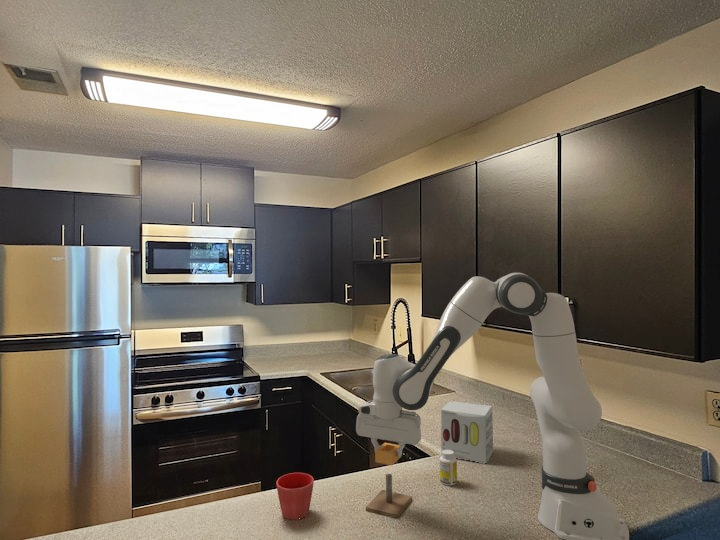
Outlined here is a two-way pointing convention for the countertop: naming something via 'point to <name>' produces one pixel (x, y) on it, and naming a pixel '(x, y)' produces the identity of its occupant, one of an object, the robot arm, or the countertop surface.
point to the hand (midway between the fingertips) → (388, 454)
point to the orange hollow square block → (386, 454)
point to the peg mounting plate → (389, 501)
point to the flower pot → (295, 494)
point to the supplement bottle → (448, 468)
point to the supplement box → (467, 430)
